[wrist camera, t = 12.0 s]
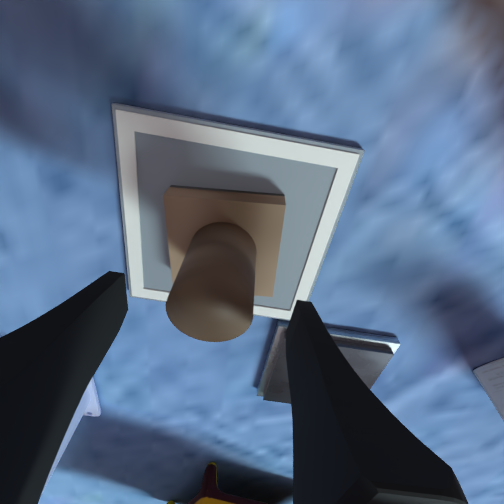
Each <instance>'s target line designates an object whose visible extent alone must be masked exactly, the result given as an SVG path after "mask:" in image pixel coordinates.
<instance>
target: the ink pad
mask: <svg viewBox="0 0 504 504" xmlns="http://www.w3.org/2000/svg"><path fill="white" fill-rule="evenodd" d="M288 325H289V321H283V320H278V323H277V326H276V329H275V332H274V336H273V339H272V342H271V345H270V349H269V352H268V355H267V358H266V362H265V365H264V368H263V371H262V375H261V378H260V381H259V384H258V388H257V396H263V400H267V401H275V402H282V403H290V404H291V397H290V388H289V380H288V371H287V362H286V330H287V328H288ZM326 329H327V330H328V332H329V334H330V335H331V337H332V338H333V340H334V342H335V343H336V345H337V346H338V348H339V349H340V351H341V352H342V354H343V355H344V357H345V358H346V360H347V361H348V362H349V364H350V365H351V367H352V368H353V369H354V371H355V372H356V373H357V375H358V376H359V377H360V378H361V379H362V381H363V382H364V383H365V384H366V386H367V387H368V388H369V389H370V388H371V387H372V385H373V384H374V383H375V381H376V380H377V378H378V377H379V375H380V374H381V372H382V371H383V370H384V368H385V367H386V365H387V364H388V362H389V361H390V359H391V358H392V357H393V355H394V353H395V351H396V350H397V349H398V347H399V346H400V342H399V340H398V338H396V337H390V336H383V335H376V334H370V333H363V332H356V331H350V330H343V329H336V328H330V327H326Z"/></svg>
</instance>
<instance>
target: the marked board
mask: <svg viewBox="0 0 504 504" xmlns="http://www.w3.org/2000/svg"><path fill="white" fill-rule="evenodd" d="M112 115H113V125H114V136H115V147H116V157H117V168H118V178H119V189H120V199H121V210H122V220H123V231H124V241H125V252H126V263H127V273H128V284H129V294H130V297H135V298H142V299H149V300H155V301H162V302H166V301H167V298H168V295H169V293H170V291H171V288H172V286H173V283H172V274H171V265H170V256H169V246H168V237H167V228H166V219H165V209H164V200H163V195H164V193H165V192H166V191H167V189H168V188H169V187H170V186H171V185H177V186H190V187H202V188H214V189H227V190H239V191H251V192H263V193H276V194H284V195H285V203H286V207H285V214H284V221H283V228H282V235H281V242H280V249H279V256H278V263H277V270H276V277H275V284H274V291H273V297H266V296H254V309H253V315H256V316H262V317H269V318H276V319H282V320H289V321H290V319H291V316H292V313H293V310H294V307H295V304H296V301H297V300H302V301H309V299H310V296H311V294H312V291H313V288H314V286H315V283H316V280H317V278H318V275H319V272H320V270H321V267H322V264H323V262H324V259H325V256H326V254H327V251H328V248H329V245H330V243H331V240H332V237H333V235H334V232H335V229H336V227H337V224H338V221H339V219H340V216H341V213H342V211H343V208H344V205H345V203H346V200H347V197H348V194H349V192H350V189H351V186H352V184H353V181H354V178H355V176H356V173H357V170H358V168H359V165H360V162H361V160H362V157H363V154H364V151H365V150H363V149H362V148H357V147H351V146H346V145H340V144H335V143H330V142H324V141H319V140H313V139H308V138H303V137H297V136H292V135H286V134H281V133H276V132H270V131H265V130H259V129H254V128H249V127H243V126H238V125H232V124H227V123H222V122H216V121H211V120H205V119H200V118H195V117H189V116H184V115H178V114H173V113H168V112H162V111H157V110H151V109H146V108H140V107H135V106H130V105H124V104H119V103H113V104H112Z"/></svg>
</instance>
